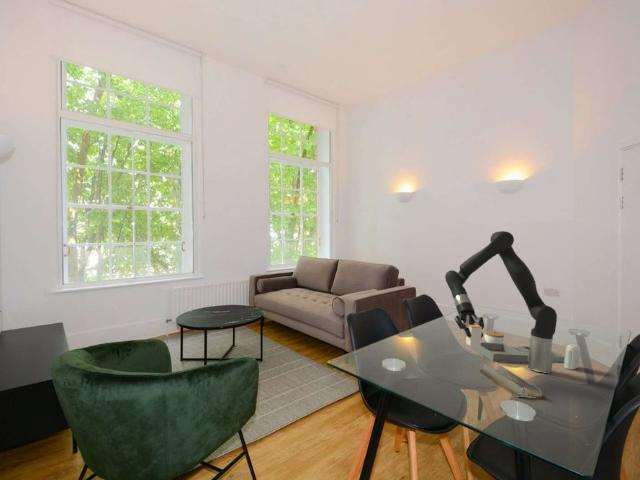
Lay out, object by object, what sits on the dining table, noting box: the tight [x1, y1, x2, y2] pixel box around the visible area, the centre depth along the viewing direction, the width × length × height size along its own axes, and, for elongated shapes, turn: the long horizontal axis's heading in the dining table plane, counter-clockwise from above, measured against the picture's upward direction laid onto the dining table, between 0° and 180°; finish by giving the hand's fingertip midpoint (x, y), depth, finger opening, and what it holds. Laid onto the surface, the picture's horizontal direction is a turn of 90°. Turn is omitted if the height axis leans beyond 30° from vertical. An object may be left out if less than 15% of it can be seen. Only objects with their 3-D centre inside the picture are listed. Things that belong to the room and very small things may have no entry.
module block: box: [465, 324, 483, 347], centre depth 153 cm, size 5×4×9 cm
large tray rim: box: [471, 341, 529, 363], centre depth 186 cm, size 20×20×4 cm
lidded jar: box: [483, 330, 505, 343], centre depth 205 cm, size 11×11×9 cm
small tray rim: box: [518, 345, 565, 363], centre depth 191 cm, size 16×16×3 cm
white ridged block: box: [563, 343, 581, 370], centre depth 175 cm, size 10×4×12 cm, turn 123°
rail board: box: [479, 363, 546, 400], centre depth 146 cm, size 12×26×4 cm, turn 6°
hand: (475, 336), depth 152 cm, fingers closed on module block, 5 cm apart
